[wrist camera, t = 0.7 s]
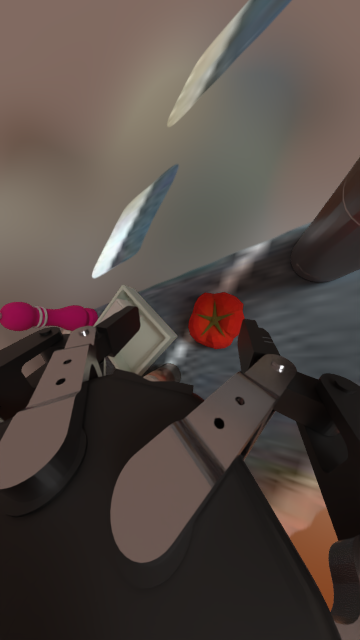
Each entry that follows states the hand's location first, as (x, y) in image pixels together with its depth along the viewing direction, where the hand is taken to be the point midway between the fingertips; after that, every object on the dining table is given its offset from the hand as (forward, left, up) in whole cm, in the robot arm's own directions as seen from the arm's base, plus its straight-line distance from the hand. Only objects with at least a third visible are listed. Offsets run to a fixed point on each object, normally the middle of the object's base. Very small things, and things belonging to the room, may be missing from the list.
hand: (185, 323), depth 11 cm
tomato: (0, -1, -22) cm, 22 cm away
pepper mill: (+26, -29, -21) cm, 44 cm away
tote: (+17, -14, -21) cm, 30 cm away
